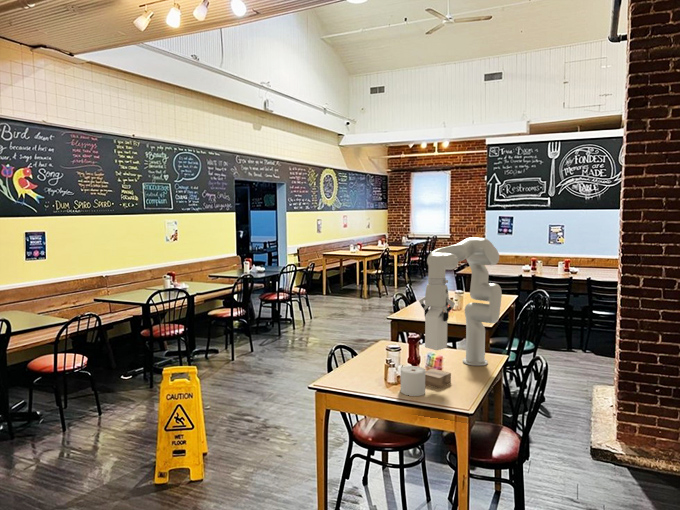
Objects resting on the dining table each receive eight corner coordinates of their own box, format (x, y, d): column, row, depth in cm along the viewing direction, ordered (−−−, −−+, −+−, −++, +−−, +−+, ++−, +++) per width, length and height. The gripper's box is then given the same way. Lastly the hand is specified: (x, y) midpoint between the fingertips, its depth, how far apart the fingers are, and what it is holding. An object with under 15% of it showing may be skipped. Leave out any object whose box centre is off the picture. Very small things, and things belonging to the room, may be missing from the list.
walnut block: (432, 378, 235) (432, 368, 235) (450, 383, 228) (450, 372, 228) (420, 383, 228) (420, 373, 227) (439, 389, 221) (439, 378, 220)
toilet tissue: (420, 398, 209) (420, 375, 208) (394, 393, 215) (394, 370, 214) (428, 390, 218) (429, 368, 218) (403, 386, 224) (403, 364, 223)
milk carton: (437, 350, 222) (437, 309, 220) (424, 347, 227) (425, 306, 226) (447, 348, 226) (447, 307, 225) (434, 345, 232) (435, 304, 230)
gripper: (458, 282, 222) (457, 320, 224) (422, 279, 232) (422, 316, 234) (451, 284, 216) (451, 323, 218) (415, 281, 226) (415, 318, 227)
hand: (436, 319), depth 226 cm, fingers closed on milk carton, 8 cm apart
